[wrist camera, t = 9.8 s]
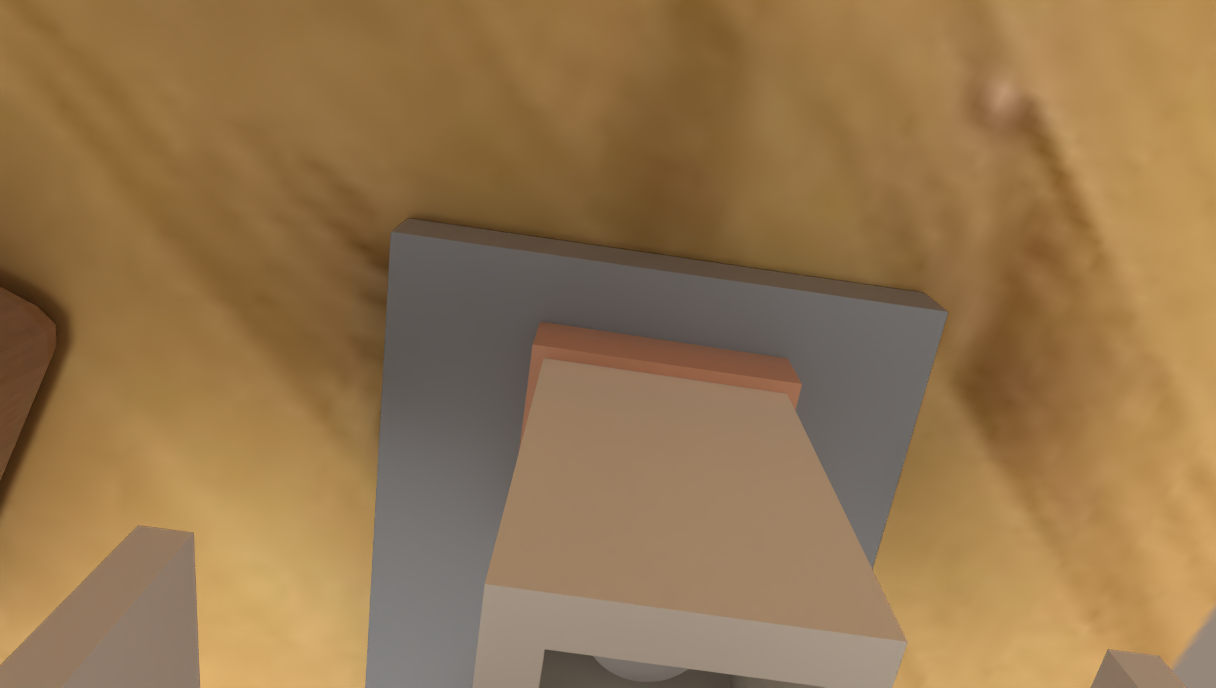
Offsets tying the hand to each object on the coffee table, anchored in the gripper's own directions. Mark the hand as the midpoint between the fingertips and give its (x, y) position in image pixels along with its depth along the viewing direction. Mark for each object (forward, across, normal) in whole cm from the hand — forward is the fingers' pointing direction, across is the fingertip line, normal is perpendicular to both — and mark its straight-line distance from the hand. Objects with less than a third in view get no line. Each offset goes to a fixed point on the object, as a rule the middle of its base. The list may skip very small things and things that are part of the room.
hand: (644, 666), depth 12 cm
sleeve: (+7, 0, 0) cm, 7 cm away
